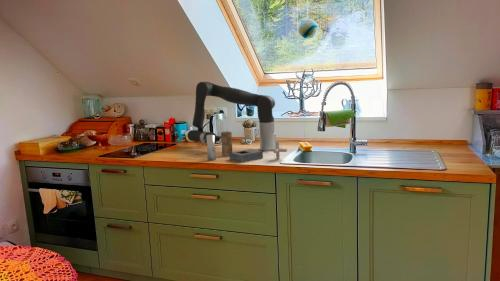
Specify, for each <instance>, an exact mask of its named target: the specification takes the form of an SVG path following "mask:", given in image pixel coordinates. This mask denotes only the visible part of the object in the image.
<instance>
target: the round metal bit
mask: <svg viewBox="0 0 500 281" xmlns="http://www.w3.org/2000/svg"><path fill="white" fill-rule="evenodd" d="M206 149H207V152H206V153H207V161H209V162H215V161H217V158H216V156H217V154H216V143H215V135H207V144H206Z"/></svg>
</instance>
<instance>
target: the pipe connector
mask: <svg viewBox="0 0 500 281" xmlns="http://www.w3.org/2000/svg"><path fill="white" fill-rule="evenodd" d="M268 152H273V154H275V158H276V160H281V159H280V153H287V152H288V148H283V147H282V146H280V140H276V148H269V151H268Z"/></svg>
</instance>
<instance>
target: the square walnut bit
mask: <svg viewBox="0 0 500 281" xmlns="http://www.w3.org/2000/svg"><path fill="white" fill-rule="evenodd" d="M232 133H233V132H232V131H221V132H220V136H221V139H220V141H221V156H222V157H225V158H226V157H229V153H230V152H233V138H232V137H233V135H232Z"/></svg>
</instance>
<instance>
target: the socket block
mask: <svg viewBox="0 0 500 281" xmlns="http://www.w3.org/2000/svg"><path fill="white" fill-rule="evenodd" d="M228 157H229V159H228V160H229V161H233V160H234V162H237V161H238V162H237V163H241V162H242V163H245V162H246V161H247V162H251V160H252V161H256V160H261V159H264V152H263V150H260V149H259V150H258V149H254V148H248V149H244V150H243V149H242V150H237V151H232V152H230V153H229V156H228Z"/></svg>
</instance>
